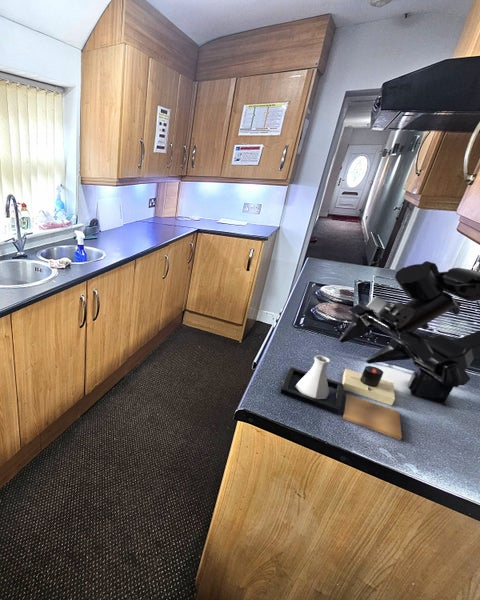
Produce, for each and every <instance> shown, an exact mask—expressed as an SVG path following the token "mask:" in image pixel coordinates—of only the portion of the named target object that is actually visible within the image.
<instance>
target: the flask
mask: <svg viewBox="0 0 480 600" xmlns="http://www.w3.org/2000/svg"><path fill="white" fill-rule="evenodd" d="M313 359H314V363H313V365H312V366H311V368H310V369H309V370H308V371H307V372H308V373H307V374H306V375H305V376H304V377H303V378H302V377H301V379H300V380H298V382H297V383H296V385H294V388H295V389H296V390H297V391H298V392H299V393H302V394H305V395H307V396H310V397H313V398H316V399H318V400H326V399H327V398H328V397H329V395H330V391H329V389H330V388H329V386H328V383H327V379H328V377H327V370H328V365H329V364H330V362H331V359H330V358H328V357H327V356H324V355H322V354H321V355H320V354H318V355H314V358H313Z"/></svg>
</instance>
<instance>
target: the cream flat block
mask: <svg viewBox="0 0 480 600" xmlns="http://www.w3.org/2000/svg"><path fill="white" fill-rule="evenodd" d="M362 374H363V372H362V373H361V372H358V371H356V370H351V369H350V368H349V369H348V368H345V369H344V371H343V374H342V382H341V383H342V384H343V386H344V389H343V391H347V392H350V393H353V394H356V395H359V396H362V397H365V398H368V399H371V400H374V401H377V402H380V403H383V404H386V405H389V406H393V404H394V402H395V401H396V396H395V394H396V393H395V384H394V382H392V381H388V380H385V379H382V378H381V380H380V382H379V384H378V386H377V387H371V386H367V385H365V384H363V383H362V382H361V381H360V379H361V376H362Z"/></svg>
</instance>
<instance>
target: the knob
mask: <svg viewBox="0 0 480 600" xmlns="http://www.w3.org/2000/svg"><path fill="white" fill-rule="evenodd" d="M383 375H384V371H383V370H382V369H380V368H379V367H377V366H372V365H366V366H365V367H364V369H363V372H362V376H361V379H360V381H361V382H362V383H363V384H365V385H367V386H371V387H377V386H378V384H379V382H380V380H381V379H382V378H383Z"/></svg>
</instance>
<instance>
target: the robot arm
mask: <svg viewBox="0 0 480 600" xmlns="http://www.w3.org/2000/svg"><path fill="white" fill-rule="evenodd" d="M394 279H395V281H396V282H397V284H398V285H399V286H400V288H401V289H402V291H403V292H404V294H405V295H406V296H407V297H408V299H410V300H408V301H407V302H405V303H404V302H401V301H398V302H395V303H394V304H392V303H391V302H388V301H387V300H385V299H383V298H381V297H380V296H379V297H378V296H376V295H375V296H374V297H373V298H372V299H371V301H369V303H368V304H367V305H364V304H361V303H359V304H356V305H354V306H352V307H351V308H350V309H349V310H350V312H351V313H350V315H351V322H350V324H349V325H348V327H347V328H346V330H344V332H343V333H342V335H341V336H340V338H339V339H338V341H339V342H340V343H346V342H350V341H351V340H353V339H356V338H359V337H361V336H363V335H366V334H368V333H371V329H378V330H380V331H381V332H383V333H384V334H386V335H388V336H389V337H391V339H390V340H389V343H388V344H387V345H386V346H384V347H382V348H381V349H379V350H378V351H376V352H374V353H373V354H371V355H370V356H369V357H367V358H366V359H365V362H366V363H367V364H368V365H369V364H376V363H385V362H392V361H393V362H394V361H407V360H410V361H412V365H413V366H415V367H417V368H418V369H417V371H413V372H412V374H411V375H410V378H409V380H408V382H407V388H408V390H409V394H410V396H413V397H416V398H419V399H422V400H426V401H428V402H432V403H434V404H438V405H440V406H441V405H442V406H446V407H447V406H448V401H447V399H448V398H449V396H450V394H451V393H452V390H454V388H459V386H465V385H466V384H467V383H468V382H469V381H470V380H471V376H469V374H468V373H467V371H466V370H468V369H469V368H470V366H471V364H472V362H473V361H474V359H476V358H479V357H480V330H478V331H475V332H472V333H468V334H467V335H464V336H461V337H459V338H456V339H450V338H448V337H446V336H444V335H438V336H435V337H433V338H431V339H428V340H426V339H425V338H423V337H421V336H419V335H418V334H416V333H414V332H415V331H417V330H418V329H423V330H428V328H430V325H429V323H430V322H432V321H434V320H435V319H437V318H439V317H441V316H442V315H444V314H446V313H451V314H453V315H456V316H457V315H459V314H460V312H461V305H462V302H460V301H457V300H455V299H454V298H453V296H455V297H457V298H460V299H463V300H465V301H467V302H478V301H480V271H478V270H474V269H469V268H463V267H453V268H450V269H448V270H447V271H439V268H438V266H437V264H436V263H435V262H432V261H428V260H426V261H424V262H422V263H416V264H411V265H408V266H405V267H402V268H400V269H398V270H397V272H396V273H395V274H394ZM452 295H453V296H452Z"/></svg>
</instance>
